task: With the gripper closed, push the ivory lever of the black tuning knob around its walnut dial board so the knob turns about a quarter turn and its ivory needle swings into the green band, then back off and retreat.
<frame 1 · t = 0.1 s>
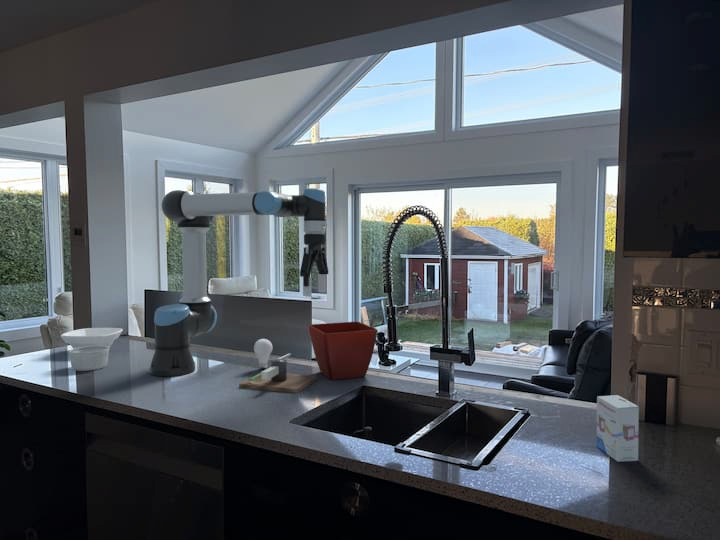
hand: (314, 294, 179), 28 cm above the worktop, fingers open, 13 cm apart
plant pot: (342, 375, 178), on the worktop
light bulb: (263, 369, 186), on the worktop
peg: (277, 369, 166), point 5 cm above the worktop, hinge at 0.0°
dial board: (278, 383, 167), on the worktop
ramekin: (89, 368, 188), on the worktop
bowl: (93, 352, 215), on the worktop
ink box: (616, 454, 111), on the worktop
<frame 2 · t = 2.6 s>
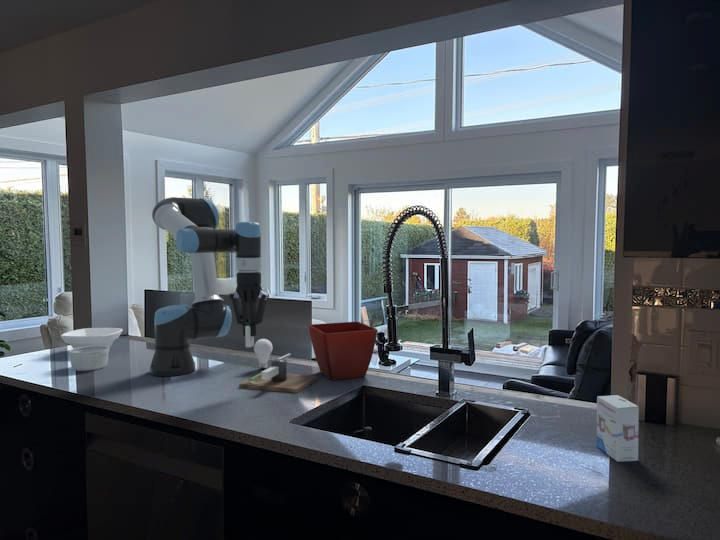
hand: (249, 346, 160), 13 cm above the worktop, fingers closed
nothing on the worktop moved.
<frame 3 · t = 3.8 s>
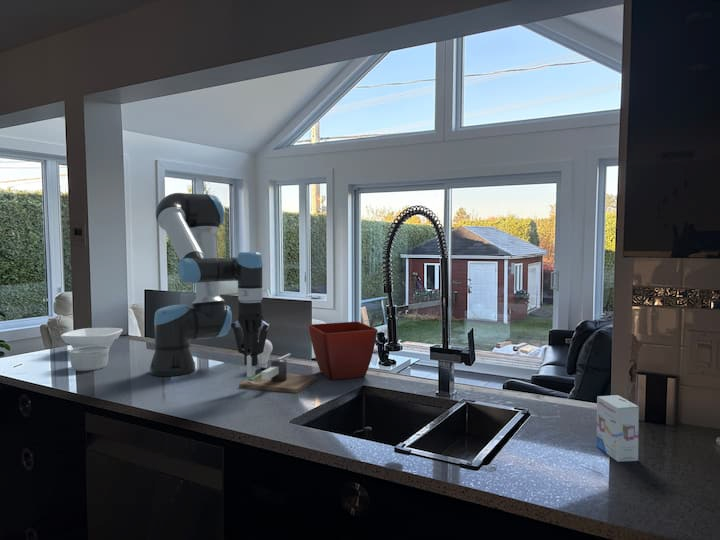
hand: (251, 375, 161), 4 cm above the worktop, fingers closed
nothing on the worktop moved.
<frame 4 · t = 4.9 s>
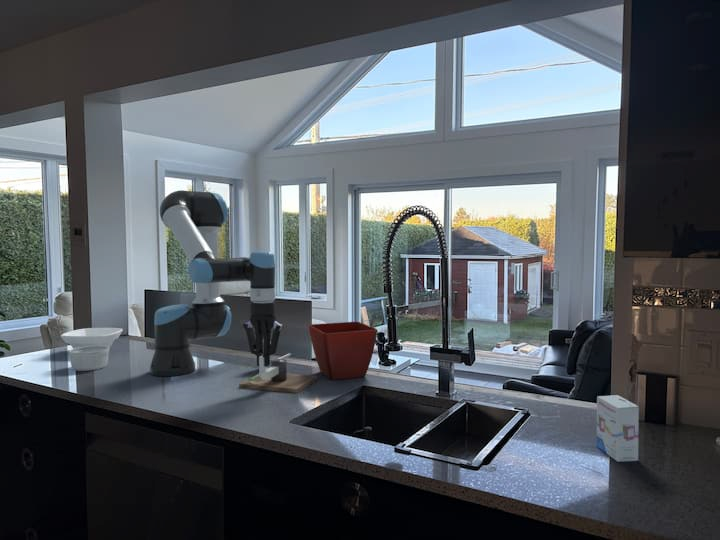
hand: (263, 376, 160), 4 cm above the worktop, fingers closed
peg: (277, 369, 166), point 5 cm above the worktop, hinge at 0.0°, touching gripper
everything else where it was.
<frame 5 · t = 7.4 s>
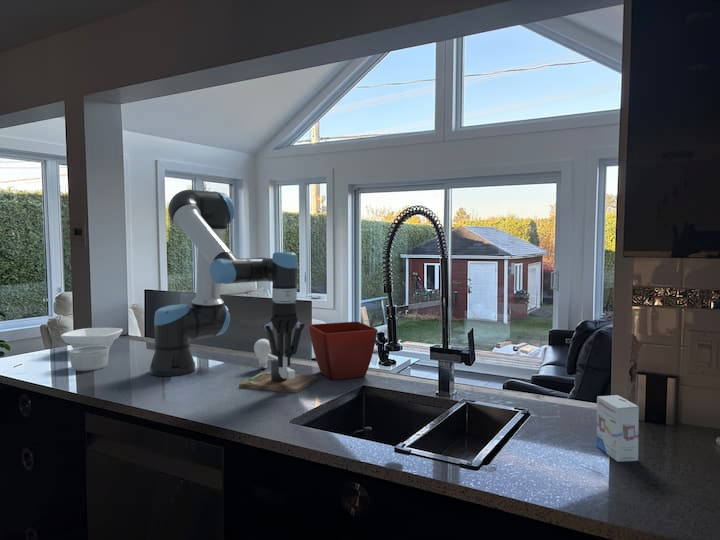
hand: (283, 377, 159), 4 cm above the worktop, fingers closed
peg: (279, 369, 166), point 5 cm above the worktop, hinge at 49.8°, touching gripper
everything else where it was.
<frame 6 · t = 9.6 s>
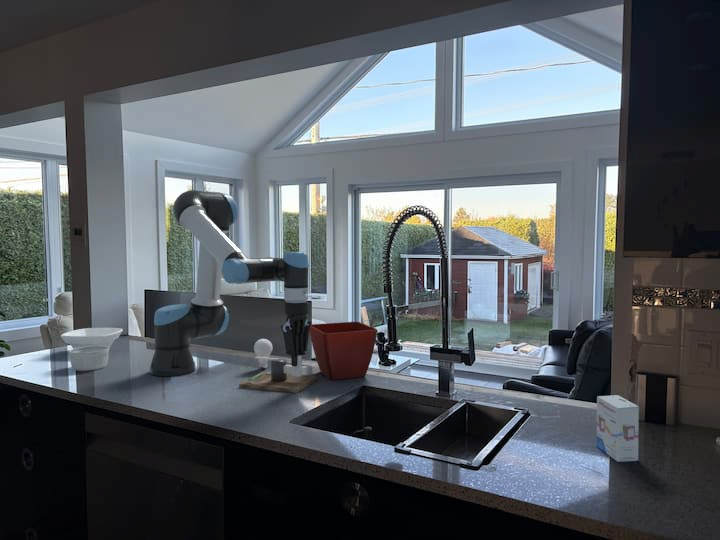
hand: (296, 375, 161), 4 cm above the worktop, fingers closed
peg: (280, 369, 166), point 5 cm above the worktop, hinge at 87.5°
everything else where it was.
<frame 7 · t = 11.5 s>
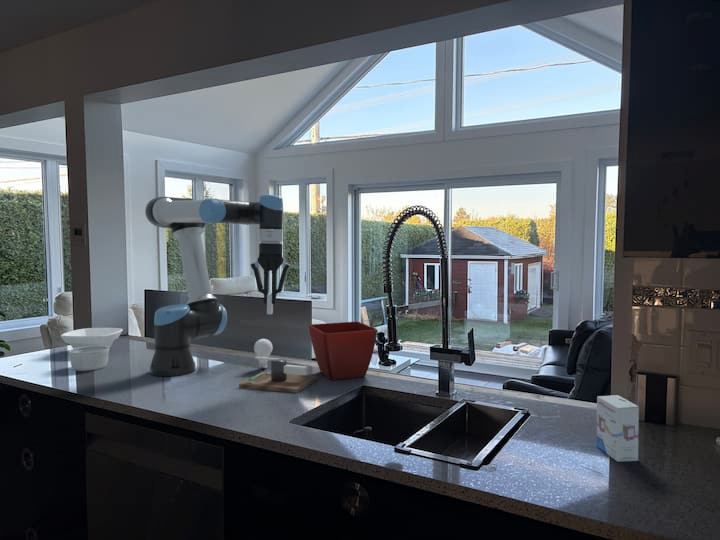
hand: (269, 313, 169), 22 cm above the worktop, fingers closed
nothing on the worktop moved.
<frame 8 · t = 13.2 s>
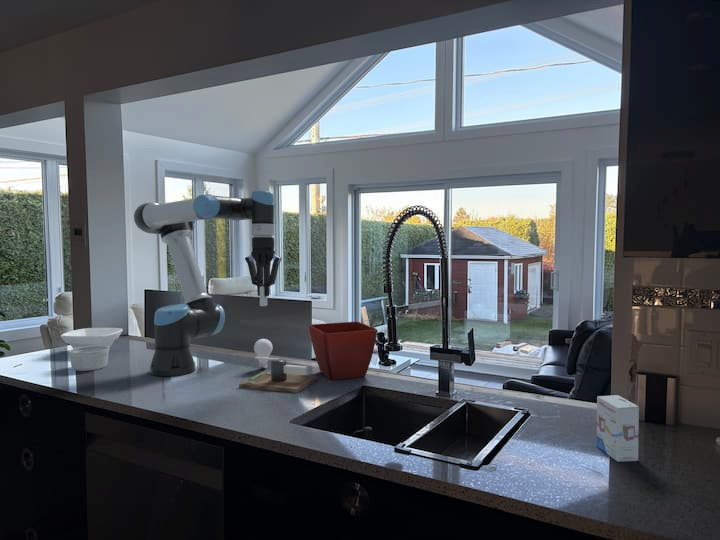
hand: (263, 305, 175), 24 cm above the worktop, fingers closed
nothing on the worktop moved.
at the end: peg at +88° (first picture: +0°) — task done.
